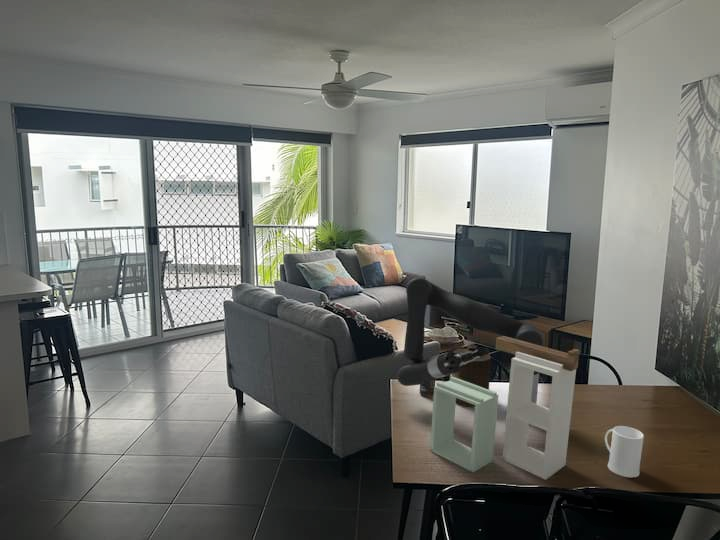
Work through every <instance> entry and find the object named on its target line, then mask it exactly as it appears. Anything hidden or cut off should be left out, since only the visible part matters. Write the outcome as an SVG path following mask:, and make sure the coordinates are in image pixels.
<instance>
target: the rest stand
mask: <svg viewBox="0 0 720 540" xmlns="http://www.w3.org/2000/svg"><path fill="white" fill-rule="evenodd" d="M432 397H433V399H432V414H431V416H432V417H431V427H430V429H431V430H430V443H429V444H430V446H429V450H430V452H432V453H434V454H436V455H438V456H440V457H442V458H443V459H446V460H448V461H449V462H452V463H454V464H455V465H458V466H460V467H462V468H463V469H465V470H467V471H470V472H471V473H475V472H477V471H478V470H480V469H482V468H483V467H485V466H486V465H488V464H490V463H492V462H493V460H494V449H495V447H494V446H495V438H496V428H497V427H496V426H497V417H498V416H497V414H498V405H499V403H498V402H499V394H498V393H497V392H496V391H494V390H490V389H489V390H488V389H485V388H483V387H480V386H477V385H474V384H472V383H469V382H466V381H463V380H461V379H458V378H455V377H450V376H449V380H447V381H445V382H440V381H437V382H435V386H434V396H432ZM456 398H458V399H461V400H463V401H466V402H468V403H471V404H473V405H475V407H474V414H473V415H474V416H473V427H472V429H473V430H472V440H471V446H470V447H469V446H467V445H465V444H463V443H461V442H459V441H457V440H455V439H454V431H455V430H454V428H455V416H456V405H457V404H456Z"/></svg>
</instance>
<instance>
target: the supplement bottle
mask: <svg viewBox="0 0 720 540" xmlns="http://www.w3.org/2000/svg"><path fill="white" fill-rule="evenodd" d="M434 386H436V379H432V380H428V381H423V383H422V384H420V385H419V394H420V396H423V397H426V398H432V397H434Z"/></svg>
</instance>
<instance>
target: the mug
mask: <svg viewBox="0 0 720 540" xmlns="http://www.w3.org/2000/svg"><path fill="white" fill-rule="evenodd" d="M610 433H612V436H611V444H610V445H609V442H608V435H609V434H610ZM644 437H645V435H644V433H643V432H641V431H640V430H639V429H636V428H633V427H631V426H625V425H618V426H614V427H613V428H611V429H609V430H607V431H606V433H605V435H604V445H605V447H606V448H607V450H608V451H609V458H608V462H607V468H608V470H610V471H611V473H614V474H615V475H618V476H620V477H623V478H633V477H634V478H637V477H639V476H640V475H641V474H640V473H641V471H640V468H641V467H640V466H641V460H642V451H643V446H644V445H643V444H644Z"/></svg>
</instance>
